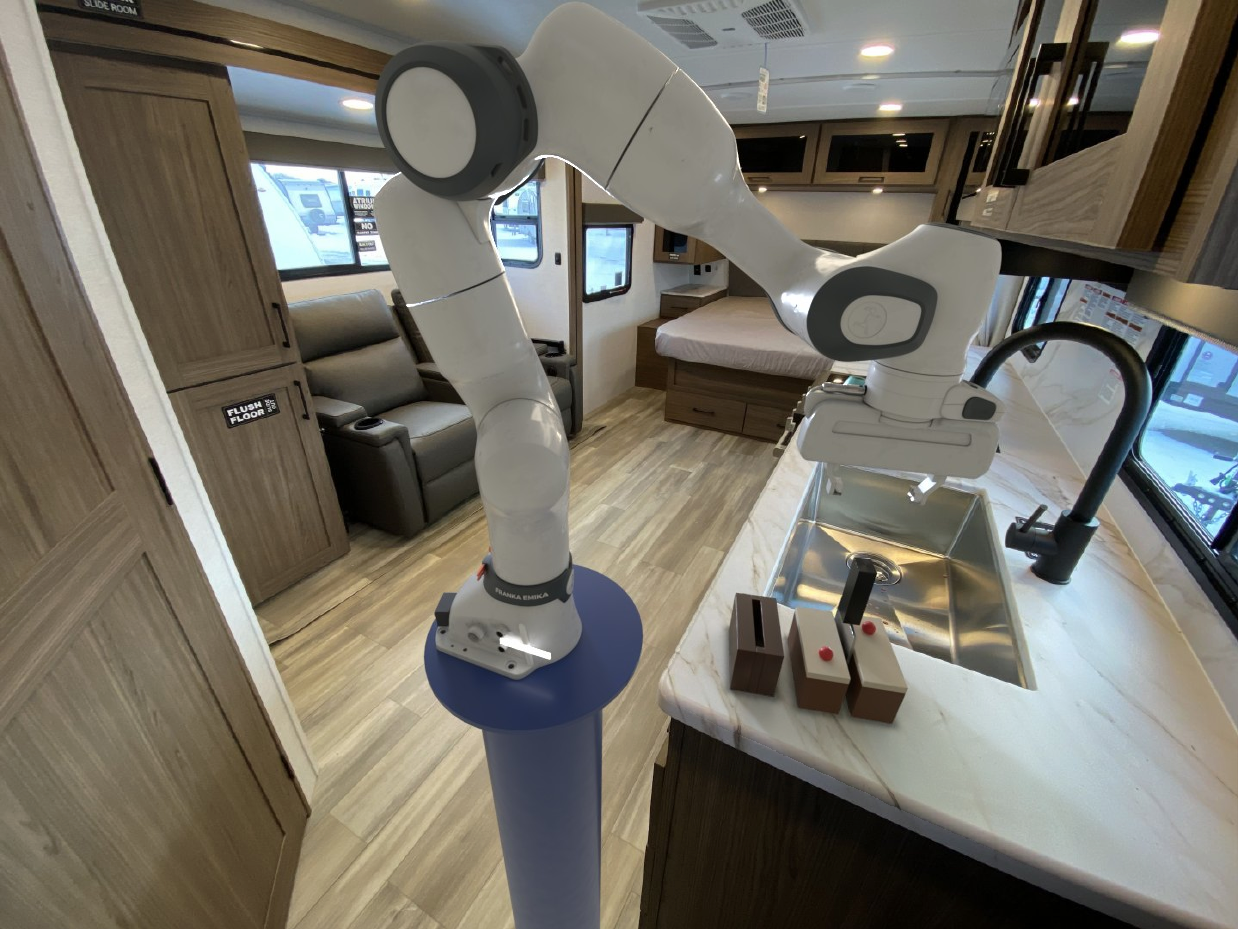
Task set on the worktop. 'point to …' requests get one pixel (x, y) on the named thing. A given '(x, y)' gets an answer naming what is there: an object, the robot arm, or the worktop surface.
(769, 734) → the worktop surface
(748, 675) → the knife block
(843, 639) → the knife
